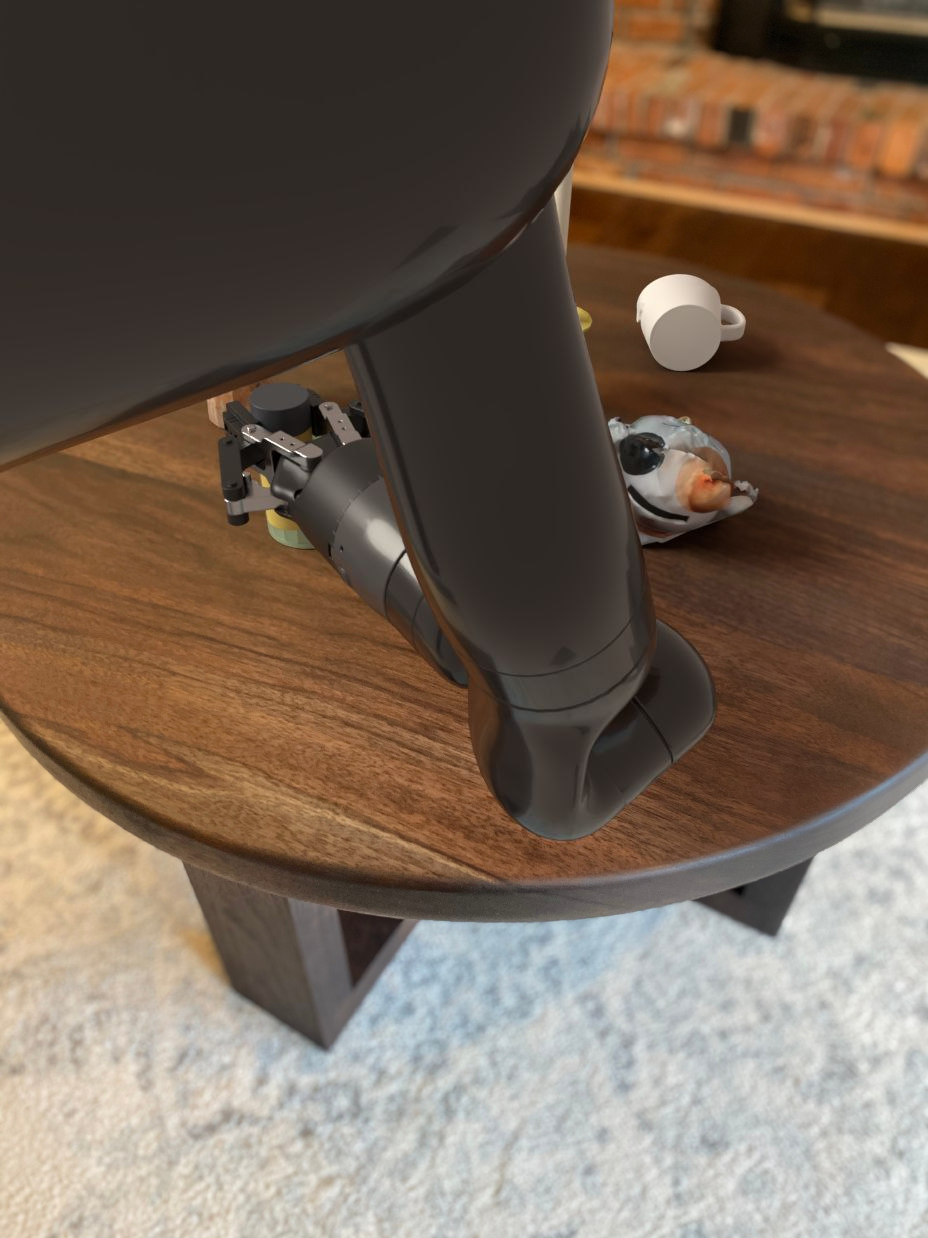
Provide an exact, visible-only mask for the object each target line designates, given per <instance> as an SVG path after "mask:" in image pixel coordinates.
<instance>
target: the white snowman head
mask: <svg viewBox="0 0 928 1238" xmlns="http://www.w3.org/2000/svg"><path fill="white" fill-rule="evenodd" d="M608 425H609V429H610V432H611V436H612V439H613V443H614V446H615V450H616V453H617V456H618V460H619V463H620V467H621V470H622V473H623V477H624V480H625V484H626V487H627V491H628V494H629V498H630V501H631V505H632V509H633V513H634V516H635V520H636V524H637V528H638V532H639V536H640V540H641V545H642V546H644V545H649V544H652V543H657V542H658V543H661V544H663V543H665V542H666V543H667V542H668V541H670V540H672V539H675V538H676V537H679V536H681V535H683V534H685V533H688V532H691V531H693V530H694V531H695V530H697V529H699V528H703V527H705V526H708V525H710V524H713V523H716V522H718V521H721V520H724V519H727V518H731V517H733V516H736V515H739V514H742V513H744V512H745V511H746V510H747V509H749V508H750V507H751V506H753V505H754V504H755V502H756V501H757V499H758V494H759V491H760V490H759V488H758V487H756V488H755V487H753V485H752V484H751V483H750V482H749V481H748V480H739V479H736V480H732V463H731V457H730V454H729V452H728V450H727V449H726V447H725V446H724V445H723V444H722V443H721V442H720V441H719V440H717V439H715V438H714V437H713V436H711V435H710V434H707V433H705V432H703V431H702V430H701V429H700V428H698V427H697V426H695V425H696V424H695V421H694V420H693V418H692V417H690V416H687V415H684V416H681V417H678V418H676V417H674V416H669V415H666V414H665V415H659V414H651V415H644V416H641V417H639V418H638V419H636V420H635V421H634V422H632V423H631V424H629V423H624V422H623V419H622V418H621V417H620V416H615V417H612V418H610V419H609V420H608ZM754 488H755V489H754Z"/></svg>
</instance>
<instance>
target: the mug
mask: <svg viewBox="0 0 928 1238" xmlns="http://www.w3.org/2000/svg"><path fill="white" fill-rule="evenodd" d="M722 321H723V322H726V323H728V324H722ZM636 323H638V324H639V323H640V327H641V331H642V334H643V337H644V339H645V341H646V344H647V346H648V348H649V350H650V353H651V355H652V357H653V359H654V360H655V361H656V362H657V363H658V364H659V365H660V366H662V367H664V368H666V369H668V370H671V371H675V372H686V371H691V370H695V369H697V368H700V367H701V366H703V365H705V364H706V363H708V362H709V361H710V360H711V359H712V358H713V356H715V354H716V353H717V351H718V349H719V347H720V344H721V342H734V341H737V340H739V339H741V338H742V337H743V336H744V334H745V330H746V329H745V328H746V324H747V319H746V317H745V315H744V314H743V313H742V312H741V311H740V310H739V309H737V308H736V307H733V306H731V305H728V304H722V303H721V297H720V294H719V292H718V290H717V289H716V288H715V287H714V286H712V285H711V284H710V283H708V282H707V281H706V280H704V279H702V278H701V277H698V276H695V275H691V274H683V273H676V274H670V275H665V276H662V277H659V278H657V279H655V280H654V281H652V282H650V283H648V285H646V286H645V287H644V288H643V290H642V291H641V293H640V294H639V296H638V298H637V301H636Z"/></svg>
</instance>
